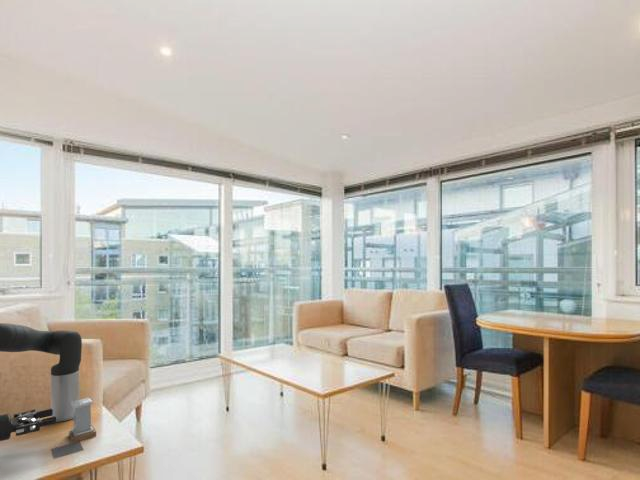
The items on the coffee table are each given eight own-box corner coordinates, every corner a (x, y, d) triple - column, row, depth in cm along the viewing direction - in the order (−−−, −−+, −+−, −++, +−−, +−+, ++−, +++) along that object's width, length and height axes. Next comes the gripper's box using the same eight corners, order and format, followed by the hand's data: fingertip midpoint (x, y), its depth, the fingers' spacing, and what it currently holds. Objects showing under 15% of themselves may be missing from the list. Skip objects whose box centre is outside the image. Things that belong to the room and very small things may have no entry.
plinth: (68, 438, 138) (68, 430, 138) (92, 432, 142) (92, 424, 142) (72, 445, 132) (72, 437, 132) (96, 438, 137) (96, 431, 137)
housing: (71, 431, 137) (71, 401, 138) (89, 426, 141) (89, 397, 141) (74, 436, 133) (73, 406, 133) (93, 431, 137) (92, 401, 137)
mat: (50, 452, 128) (50, 449, 128) (79, 444, 133) (79, 441, 133) (53, 462, 122) (53, 458, 122) (84, 453, 127) (84, 449, 127)
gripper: (-10, 425, 116) (57, 410, 127) (-10, 411, 127) (51, 398, 138) (-10, 451, 116) (57, 434, 127) (-10, 435, 127) (51, 420, 137)
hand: (54, 415), depth 132 cm, fingers open, 8 cm apart
